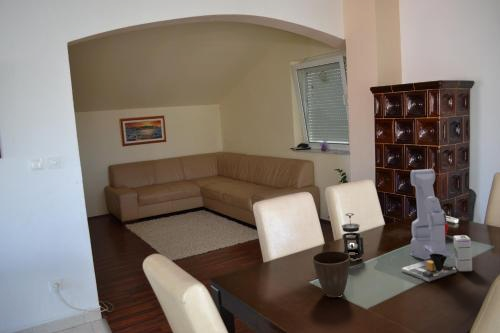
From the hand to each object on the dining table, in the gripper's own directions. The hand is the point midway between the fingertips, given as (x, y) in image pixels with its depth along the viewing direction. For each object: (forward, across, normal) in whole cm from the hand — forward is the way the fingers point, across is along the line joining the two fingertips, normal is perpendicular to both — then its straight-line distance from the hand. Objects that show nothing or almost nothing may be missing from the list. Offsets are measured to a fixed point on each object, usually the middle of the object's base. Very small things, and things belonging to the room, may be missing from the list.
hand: (439, 270), depth 176 cm
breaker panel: (+3, -6, 0) cm, 7 cm away
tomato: (+3, -38, +42) cm, 57 cm away
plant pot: (+3, -13, -46) cm, 48 cm away
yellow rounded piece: (+1, -4, 0) cm, 4 cm away
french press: (+3, -41, -13) cm, 43 cm away
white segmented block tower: (+3, +1, +14) cm, 14 cm away
